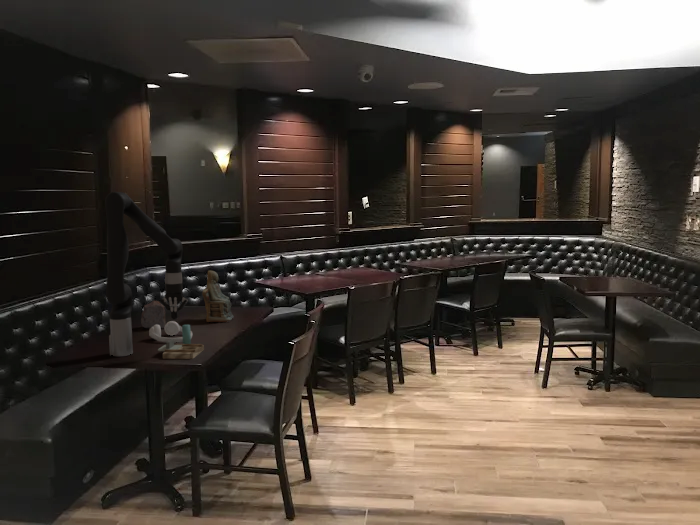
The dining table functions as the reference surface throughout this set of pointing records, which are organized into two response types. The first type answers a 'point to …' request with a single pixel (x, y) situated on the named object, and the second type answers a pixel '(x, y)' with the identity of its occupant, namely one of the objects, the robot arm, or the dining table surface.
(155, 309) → the rock
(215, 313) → the sculpture
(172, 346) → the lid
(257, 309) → the dining table surface
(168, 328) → the headphones
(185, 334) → the peg
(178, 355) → the board
